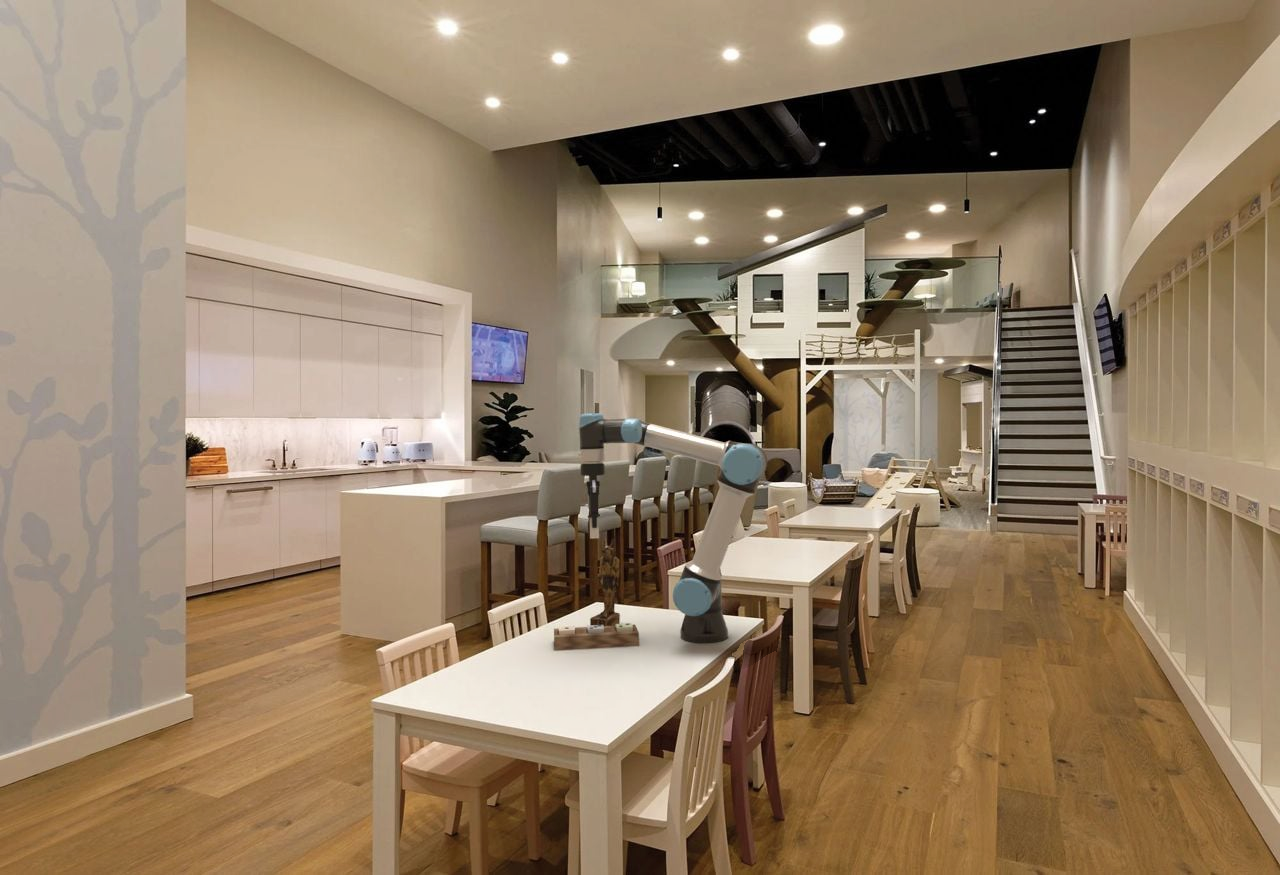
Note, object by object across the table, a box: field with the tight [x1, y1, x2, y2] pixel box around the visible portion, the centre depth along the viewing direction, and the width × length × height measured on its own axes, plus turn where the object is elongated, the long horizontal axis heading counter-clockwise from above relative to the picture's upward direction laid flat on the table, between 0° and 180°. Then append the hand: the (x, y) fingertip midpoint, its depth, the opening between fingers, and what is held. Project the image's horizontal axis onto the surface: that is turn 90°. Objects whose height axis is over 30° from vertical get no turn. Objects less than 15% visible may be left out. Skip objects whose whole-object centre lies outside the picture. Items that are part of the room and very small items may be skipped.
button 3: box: [586, 625, 604, 633], centre depth 252 cm, size 5×5×4 cm
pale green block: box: [616, 622, 633, 632], centre depth 253 cm, size 5×5×4 cm
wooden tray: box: [553, 624, 640, 651], centre depth 252 cm, size 26×11×4 cm, turn 97°
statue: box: [589, 538, 621, 626], centre depth 272 cm, size 8×11×30 cm
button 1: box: [558, 625, 576, 635], centre depth 251 cm, size 5×5×4 cm
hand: (594, 538), depth 252 cm, fingers closed
